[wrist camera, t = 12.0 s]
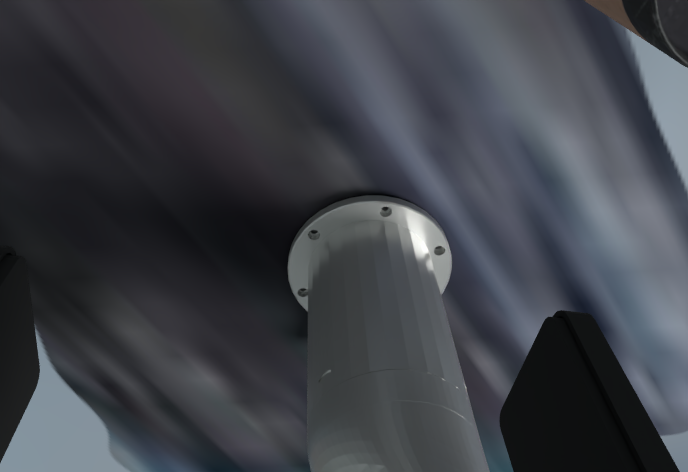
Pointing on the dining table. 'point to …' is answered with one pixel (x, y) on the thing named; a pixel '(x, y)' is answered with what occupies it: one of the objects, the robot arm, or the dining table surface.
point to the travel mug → (653, 22)
